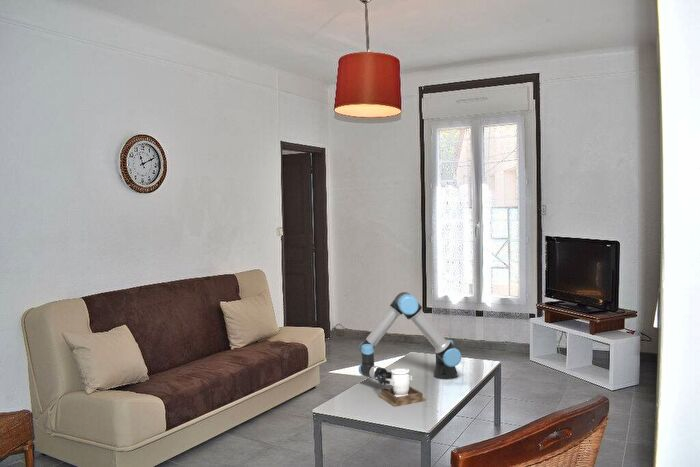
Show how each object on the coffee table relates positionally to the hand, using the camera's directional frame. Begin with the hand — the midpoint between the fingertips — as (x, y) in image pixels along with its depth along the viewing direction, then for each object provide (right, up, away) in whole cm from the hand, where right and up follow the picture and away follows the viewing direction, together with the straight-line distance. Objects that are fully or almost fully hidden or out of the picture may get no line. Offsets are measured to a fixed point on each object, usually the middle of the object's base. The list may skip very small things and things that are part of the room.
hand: (403, 380), depth 310 cm
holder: (-1, -11, +2) cm, 11 cm away
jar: (-1, -10, +2) cm, 10 cm away
